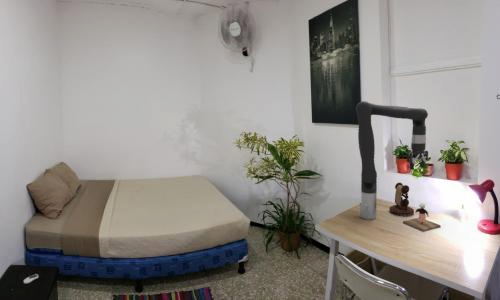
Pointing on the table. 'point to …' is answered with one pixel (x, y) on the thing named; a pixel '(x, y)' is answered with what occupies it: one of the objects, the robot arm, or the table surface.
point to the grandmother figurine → (422, 213)
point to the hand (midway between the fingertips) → (417, 168)
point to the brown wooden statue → (401, 201)
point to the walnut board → (421, 225)
